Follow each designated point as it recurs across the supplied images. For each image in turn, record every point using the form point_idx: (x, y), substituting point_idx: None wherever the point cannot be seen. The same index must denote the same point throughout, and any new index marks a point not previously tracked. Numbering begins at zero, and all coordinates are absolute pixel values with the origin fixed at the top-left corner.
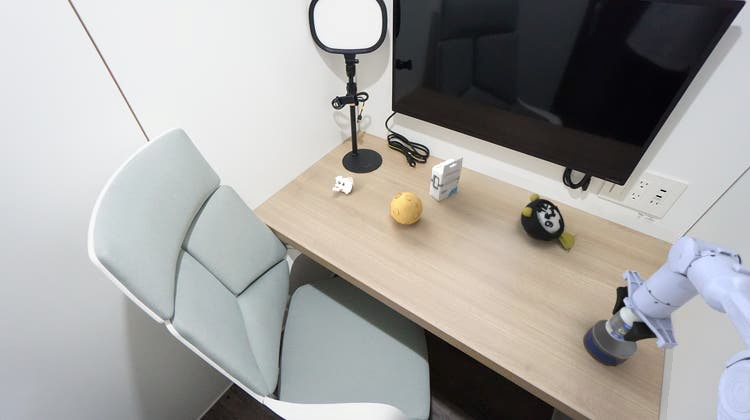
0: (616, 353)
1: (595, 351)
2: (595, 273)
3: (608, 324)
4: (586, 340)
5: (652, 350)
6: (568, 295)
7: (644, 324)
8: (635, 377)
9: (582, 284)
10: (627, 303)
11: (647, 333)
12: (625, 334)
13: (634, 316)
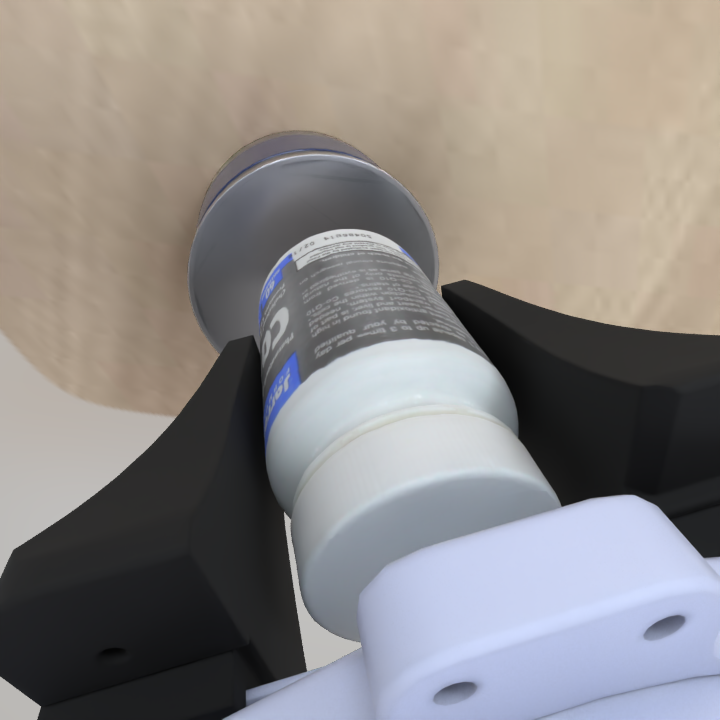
0: (208, 285)
1: (222, 177)
2: (717, 245)
3: (354, 243)
4: (294, 136)
5: None
6: (597, 73)
7: (198, 646)
8: (201, 355)
9: (663, 171)
10: (513, 634)
11: (40, 675)
12: (244, 357)
13: (343, 515)
